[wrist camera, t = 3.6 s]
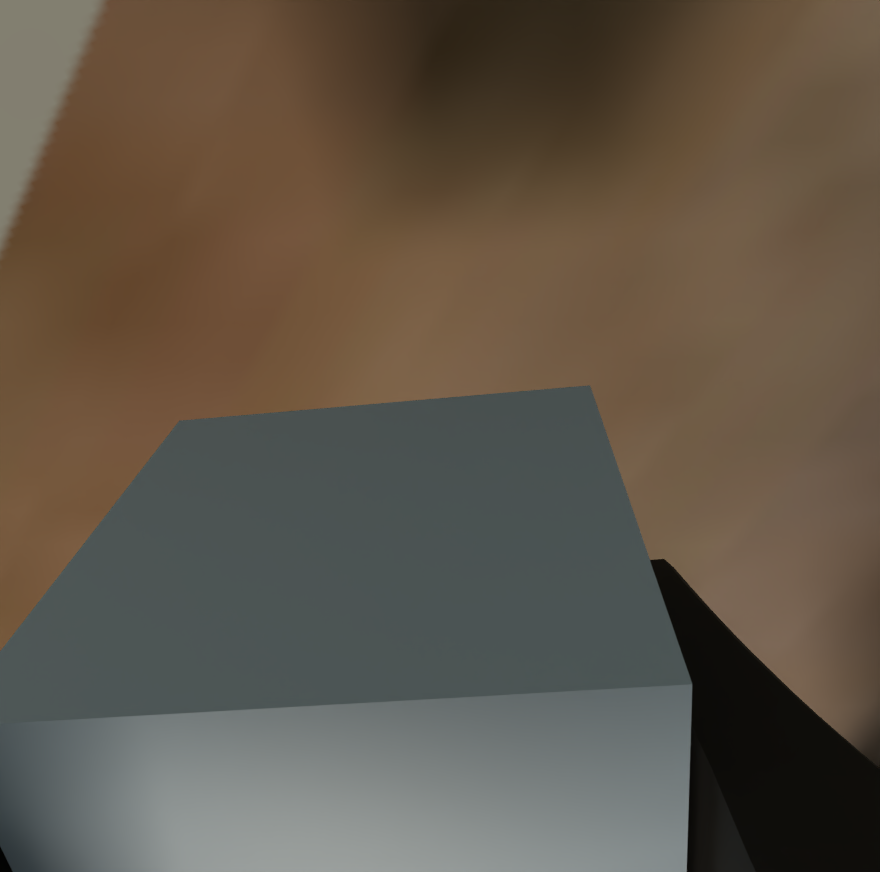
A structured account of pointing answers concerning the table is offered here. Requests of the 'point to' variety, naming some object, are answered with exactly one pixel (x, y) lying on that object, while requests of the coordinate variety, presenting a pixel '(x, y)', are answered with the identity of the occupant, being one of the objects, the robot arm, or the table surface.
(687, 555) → the table surface
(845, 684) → the table surface
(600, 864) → the dusty blue block
